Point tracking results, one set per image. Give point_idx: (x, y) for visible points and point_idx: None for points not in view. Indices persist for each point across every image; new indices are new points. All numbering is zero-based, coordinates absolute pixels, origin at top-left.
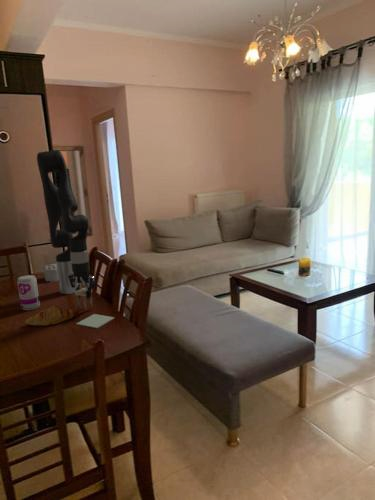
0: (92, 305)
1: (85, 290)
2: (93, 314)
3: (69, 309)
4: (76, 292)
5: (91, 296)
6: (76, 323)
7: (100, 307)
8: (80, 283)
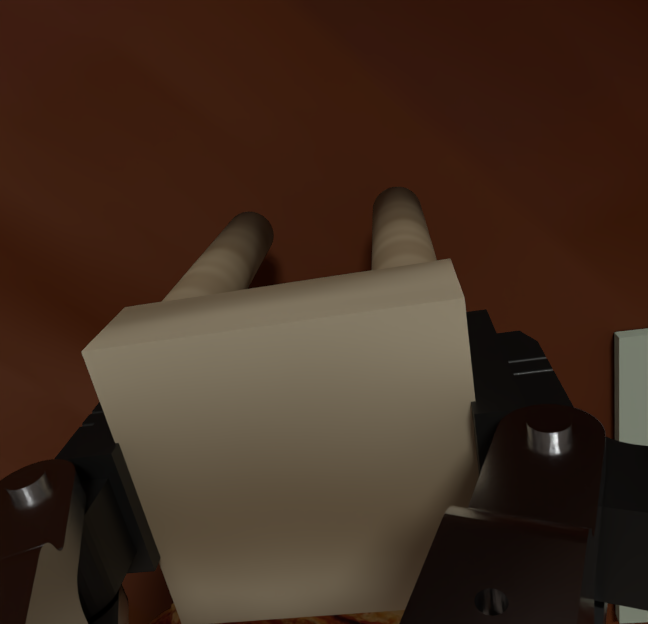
0: (419, 204)
1: (383, 476)
2: (623, 355)
3: (382, 622)
4: (238, 602)
5: (520, 335)
6: (620, 620)
7: (463, 46)
8: (68, 601)
